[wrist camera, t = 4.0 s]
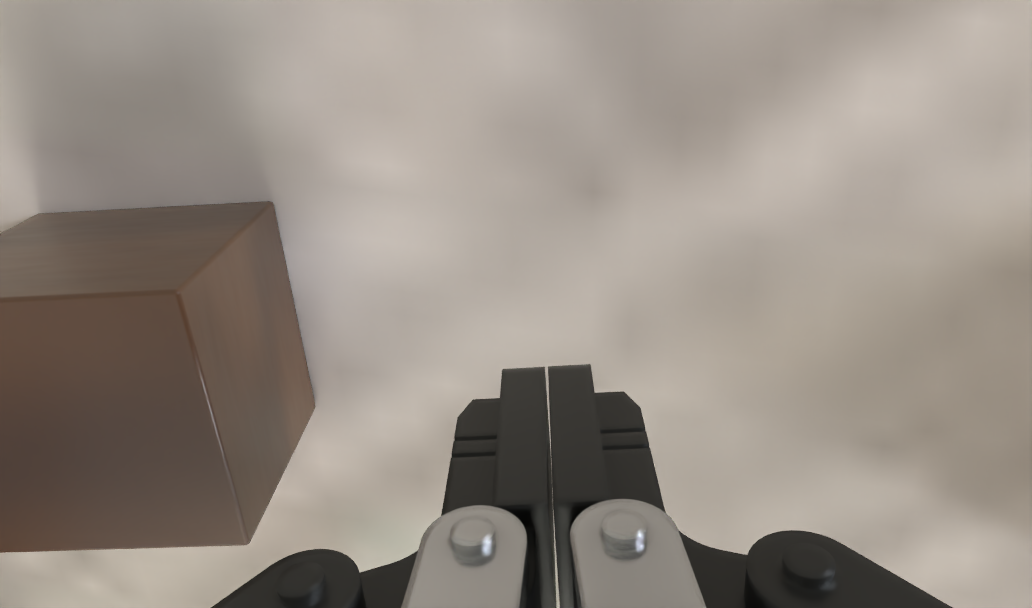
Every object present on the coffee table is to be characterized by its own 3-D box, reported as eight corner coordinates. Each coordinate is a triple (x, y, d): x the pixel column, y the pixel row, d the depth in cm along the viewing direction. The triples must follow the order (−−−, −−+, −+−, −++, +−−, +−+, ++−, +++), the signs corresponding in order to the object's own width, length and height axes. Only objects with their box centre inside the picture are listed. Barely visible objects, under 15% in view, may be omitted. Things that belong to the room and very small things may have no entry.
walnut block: (36, 212, 15) (-142, 305, 11) (274, 199, 15) (178, 289, 11) (107, 415, 18) (-22, 554, 14) (316, 407, 17) (249, 547, 13)
